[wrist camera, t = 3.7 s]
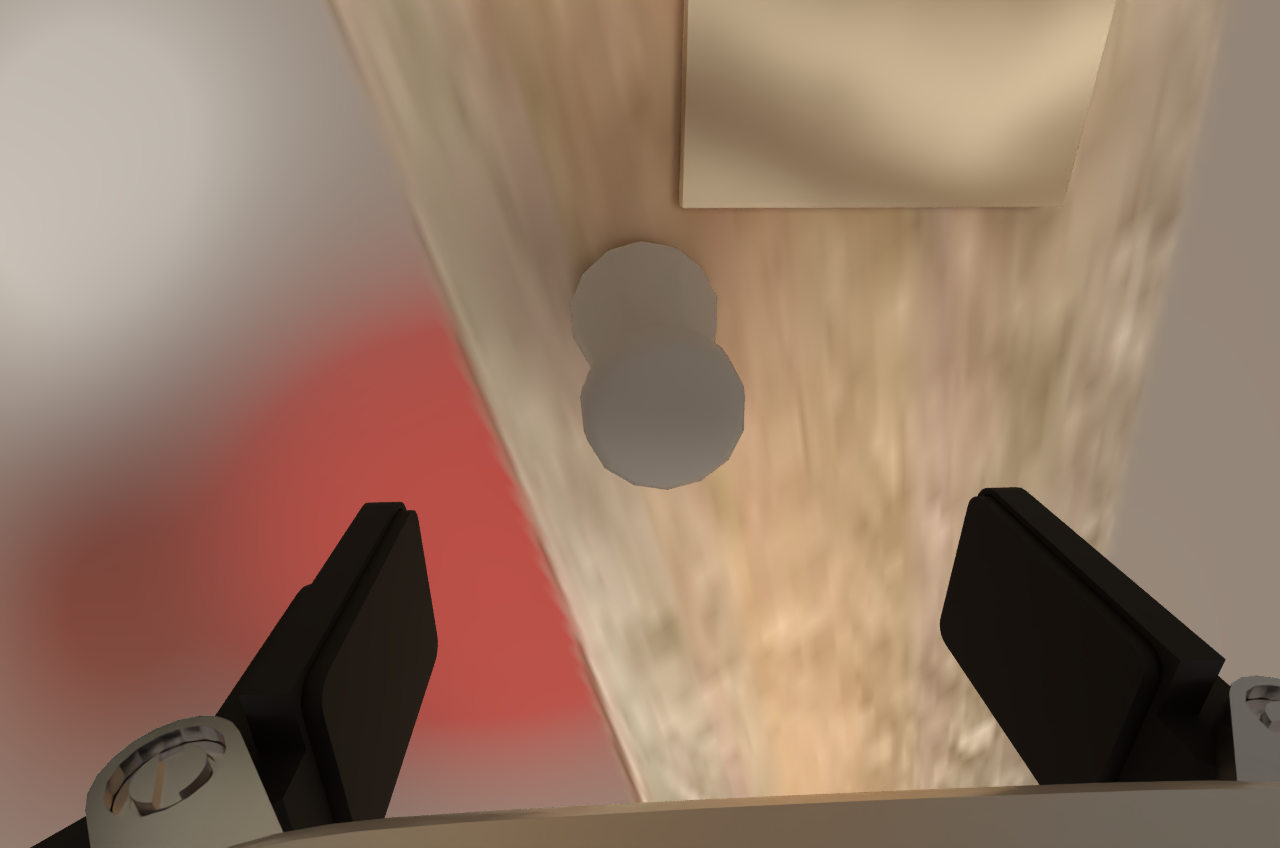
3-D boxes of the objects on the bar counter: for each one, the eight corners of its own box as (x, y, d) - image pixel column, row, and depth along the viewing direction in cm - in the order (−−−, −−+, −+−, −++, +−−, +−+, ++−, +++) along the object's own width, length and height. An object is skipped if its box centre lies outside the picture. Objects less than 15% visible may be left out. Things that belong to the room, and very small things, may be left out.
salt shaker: (730, 328, 28) (819, 468, 16) (616, 388, 29) (623, 563, 17) (669, 205, 26) (721, 266, 14) (548, 274, 27) (502, 386, 15)
